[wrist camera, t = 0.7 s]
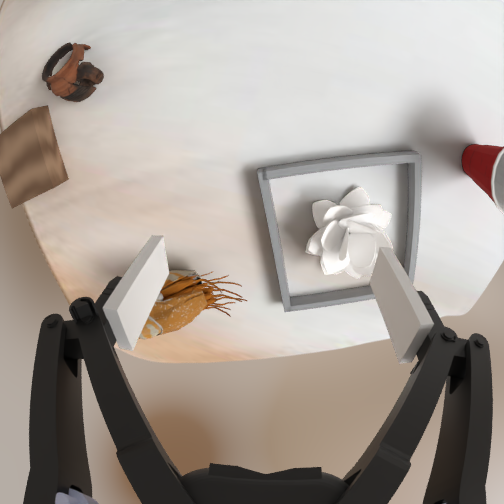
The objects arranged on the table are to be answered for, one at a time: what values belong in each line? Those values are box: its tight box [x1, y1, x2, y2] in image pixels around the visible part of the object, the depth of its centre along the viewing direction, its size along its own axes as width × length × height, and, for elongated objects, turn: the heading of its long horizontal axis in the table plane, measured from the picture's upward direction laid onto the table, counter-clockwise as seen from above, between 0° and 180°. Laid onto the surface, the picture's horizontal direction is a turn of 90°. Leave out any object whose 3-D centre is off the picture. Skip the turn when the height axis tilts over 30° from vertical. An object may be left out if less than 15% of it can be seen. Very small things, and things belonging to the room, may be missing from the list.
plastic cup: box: [462, 144, 504, 215], centre depth 30 cm, size 11×11×12 cm
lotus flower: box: [305, 187, 393, 279], centre depth 40 cm, size 14×15×9 cm
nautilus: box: [138, 270, 247, 339], centre depth 44 cm, size 8×22×15 cm, turn 99°
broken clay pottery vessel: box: [42, 43, 104, 102], centre depth 30 cm, size 12×9×8 cm
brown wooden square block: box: [0, 106, 69, 208], centre depth 38 cm, size 15×15×5 cm
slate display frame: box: [257, 151, 422, 312], centre depth 43 cm, size 25×24×2 cm
